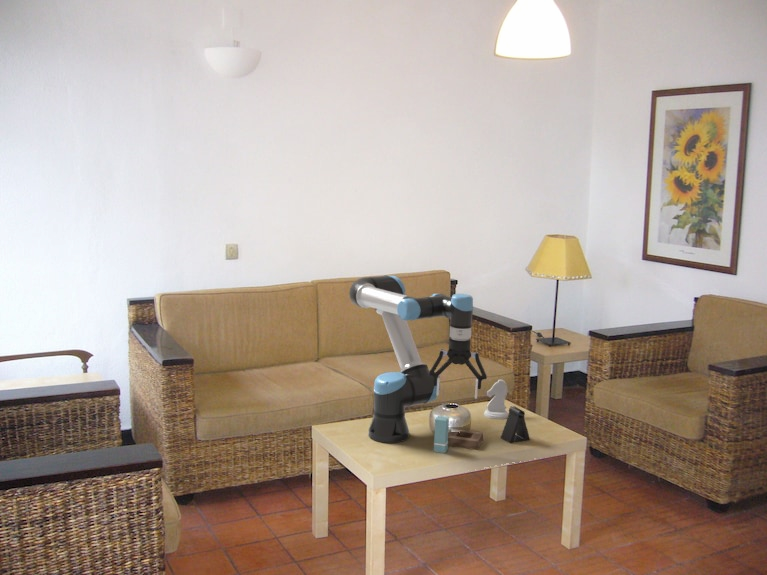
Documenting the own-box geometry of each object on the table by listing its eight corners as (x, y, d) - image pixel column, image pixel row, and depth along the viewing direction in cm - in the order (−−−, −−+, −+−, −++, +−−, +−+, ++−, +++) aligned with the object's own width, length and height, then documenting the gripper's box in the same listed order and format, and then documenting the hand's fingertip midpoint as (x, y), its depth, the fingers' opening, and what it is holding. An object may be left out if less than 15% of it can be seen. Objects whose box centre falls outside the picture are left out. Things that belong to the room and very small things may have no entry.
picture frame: (520, 435, 298) (522, 404, 296) (529, 440, 293) (531, 409, 291) (500, 438, 294) (502, 407, 292) (509, 443, 289) (511, 412, 287)
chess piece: (482, 411, 325) (484, 376, 323) (506, 411, 326) (507, 376, 323) (485, 418, 316) (487, 383, 313) (510, 419, 316) (512, 383, 313)
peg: (433, 451, 279) (434, 419, 277) (436, 447, 283) (437, 415, 281) (444, 453, 278) (446, 420, 276) (447, 449, 281) (448, 417, 280)
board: (444, 444, 286) (445, 437, 285) (451, 436, 295) (451, 428, 295) (477, 449, 282) (477, 441, 282) (483, 440, 291) (483, 432, 291)
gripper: (423, 338, 273) (421, 396, 277) (496, 343, 270) (492, 402, 274) (425, 333, 281) (422, 390, 284) (495, 338, 278) (491, 395, 282)
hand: (456, 396), depth 279 cm, fingers open, 13 cm apart
